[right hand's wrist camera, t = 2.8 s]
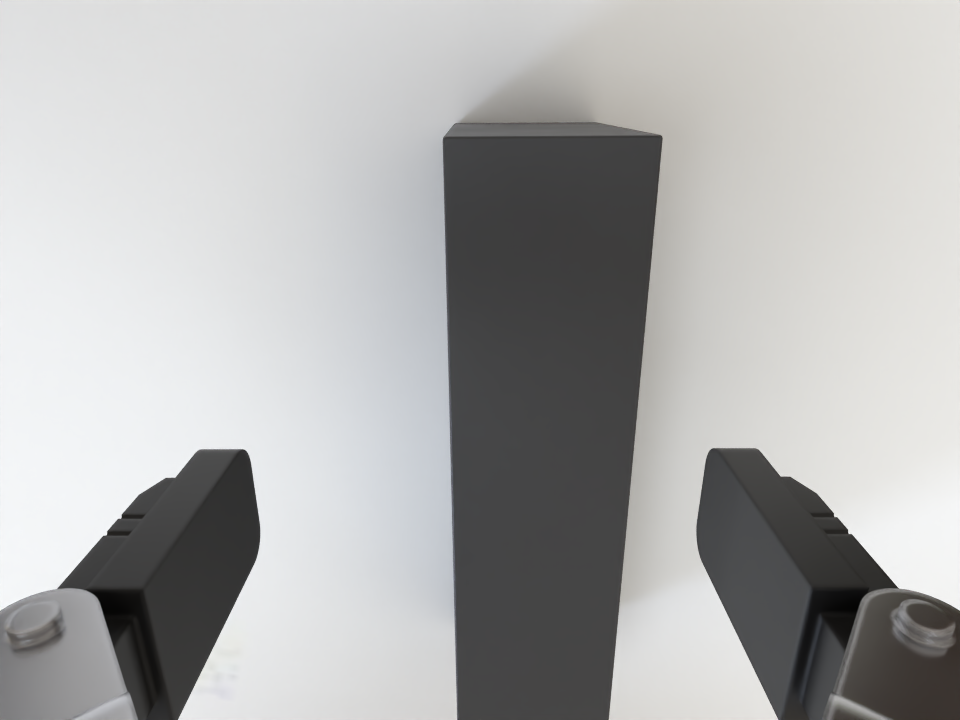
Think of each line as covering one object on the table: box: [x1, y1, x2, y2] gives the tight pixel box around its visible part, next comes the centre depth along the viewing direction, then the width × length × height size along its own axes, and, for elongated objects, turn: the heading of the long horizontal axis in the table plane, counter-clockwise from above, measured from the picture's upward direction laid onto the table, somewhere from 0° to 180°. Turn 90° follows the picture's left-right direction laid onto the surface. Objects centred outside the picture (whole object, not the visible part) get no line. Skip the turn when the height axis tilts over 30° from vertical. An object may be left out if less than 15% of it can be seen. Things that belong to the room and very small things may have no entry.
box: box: [443, 123, 662, 720], centre depth 28 cm, size 27×6×10 cm, turn 0°
